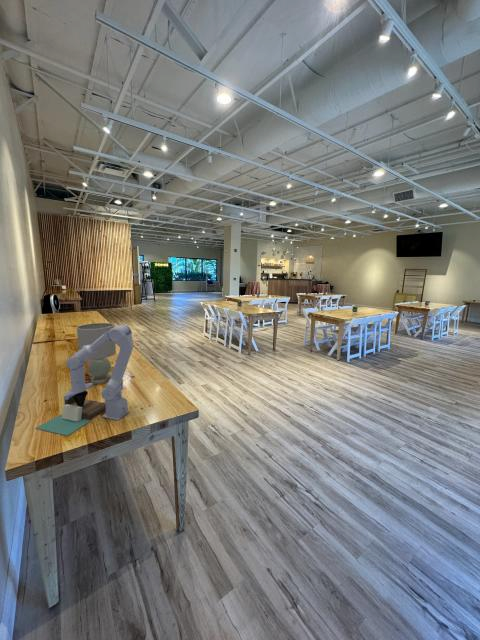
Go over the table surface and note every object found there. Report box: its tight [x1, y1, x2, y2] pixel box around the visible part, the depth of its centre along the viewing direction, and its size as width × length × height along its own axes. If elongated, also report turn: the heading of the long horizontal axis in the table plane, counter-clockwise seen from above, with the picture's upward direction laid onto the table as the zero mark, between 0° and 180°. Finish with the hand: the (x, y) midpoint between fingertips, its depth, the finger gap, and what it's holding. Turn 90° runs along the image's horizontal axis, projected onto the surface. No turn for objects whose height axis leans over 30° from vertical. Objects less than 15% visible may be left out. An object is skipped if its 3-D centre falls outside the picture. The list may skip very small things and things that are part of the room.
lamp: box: [76, 322, 117, 385], centre depth 165 cm, size 20×20×35 cm
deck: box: [71, 398, 106, 421], centre depth 130 cm, size 16×11×3 cm
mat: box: [35, 414, 92, 437], centre depth 119 cm, size 18×12×1 cm, turn 74°
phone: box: [63, 397, 75, 405], centre depth 142 cm, size 8×1×15 cm
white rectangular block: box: [61, 404, 82, 422], centre depth 122 cm, size 9×6×2 cm
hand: (80, 406), depth 127 cm, fingers closed
